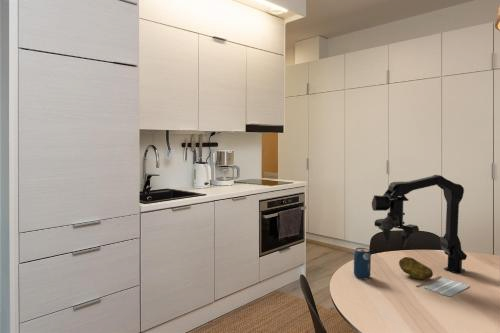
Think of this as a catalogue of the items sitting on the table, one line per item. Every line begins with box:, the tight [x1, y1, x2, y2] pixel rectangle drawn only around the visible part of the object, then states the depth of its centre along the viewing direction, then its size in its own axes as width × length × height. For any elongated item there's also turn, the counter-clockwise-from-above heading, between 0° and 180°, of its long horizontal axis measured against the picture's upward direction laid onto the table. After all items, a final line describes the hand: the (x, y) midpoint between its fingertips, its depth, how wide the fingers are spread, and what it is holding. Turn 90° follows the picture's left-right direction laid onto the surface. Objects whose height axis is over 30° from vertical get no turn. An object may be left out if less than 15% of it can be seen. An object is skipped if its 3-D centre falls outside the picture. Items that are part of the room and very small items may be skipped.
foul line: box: [415, 275, 442, 288], centre depth 153 cm, size 18×1×1 cm, turn 126°
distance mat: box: [423, 277, 470, 298], centre depth 147 cm, size 16×10×1 cm, turn 126°
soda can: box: [353, 247, 372, 280], centre depth 158 cm, size 7×7×12 cm
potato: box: [398, 256, 434, 280], centre depth 158 cm, size 8×13×8 cm, turn 39°
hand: (395, 244), depth 165 cm, fingers open, 7 cm apart
